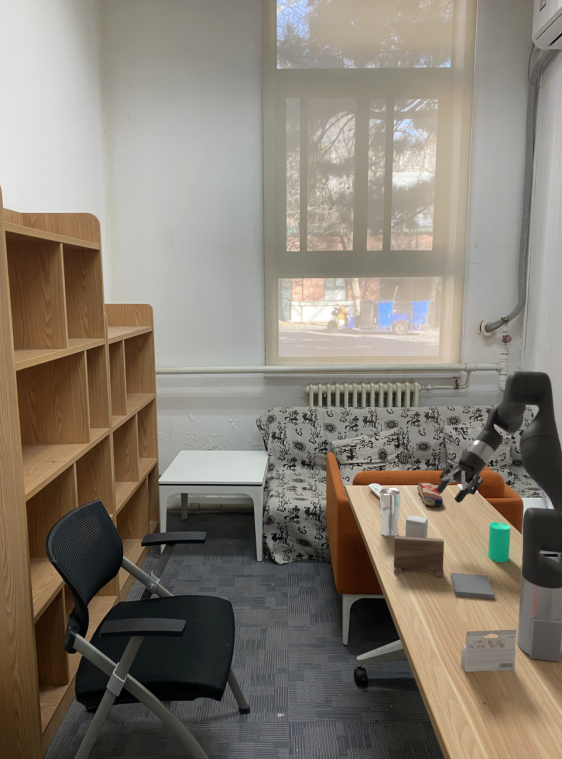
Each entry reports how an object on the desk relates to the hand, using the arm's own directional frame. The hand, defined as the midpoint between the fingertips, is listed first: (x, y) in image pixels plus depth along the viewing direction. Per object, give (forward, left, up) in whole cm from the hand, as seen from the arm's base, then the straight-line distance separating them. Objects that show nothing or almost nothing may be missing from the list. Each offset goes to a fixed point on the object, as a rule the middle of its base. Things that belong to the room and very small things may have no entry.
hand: (447, 496), depth 167 cm
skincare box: (-7, +10, -17) cm, 21 cm away
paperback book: (+41, +1, -18) cm, 45 cm away
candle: (-5, -15, -17) cm, 24 cm away
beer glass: (+7, +18, -17) cm, 26 cm away
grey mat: (-24, -4, -17) cm, 29 cm away
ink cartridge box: (-57, -2, -17) cm, 59 cm away
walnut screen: (-17, +10, -17) cm, 26 cm away
